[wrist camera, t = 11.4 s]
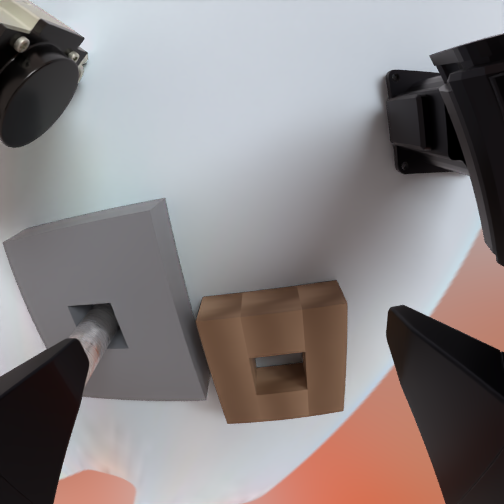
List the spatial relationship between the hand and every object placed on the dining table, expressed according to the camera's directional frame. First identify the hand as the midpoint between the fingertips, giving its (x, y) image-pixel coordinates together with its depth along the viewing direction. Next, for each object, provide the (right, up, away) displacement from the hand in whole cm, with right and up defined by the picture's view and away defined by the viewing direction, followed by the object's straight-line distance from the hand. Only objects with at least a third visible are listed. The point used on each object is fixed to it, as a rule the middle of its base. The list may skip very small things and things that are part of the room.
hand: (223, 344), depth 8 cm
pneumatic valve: (-12, +15, +7) cm, 20 cm away
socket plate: (-9, -2, +14) cm, 17 cm away
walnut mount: (+3, -5, +15) cm, 16 cm away
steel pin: (-9, -2, +14) cm, 17 cm away
